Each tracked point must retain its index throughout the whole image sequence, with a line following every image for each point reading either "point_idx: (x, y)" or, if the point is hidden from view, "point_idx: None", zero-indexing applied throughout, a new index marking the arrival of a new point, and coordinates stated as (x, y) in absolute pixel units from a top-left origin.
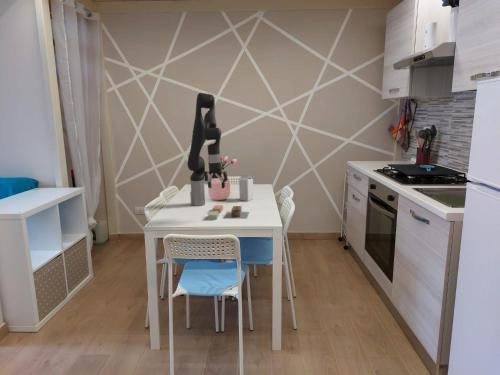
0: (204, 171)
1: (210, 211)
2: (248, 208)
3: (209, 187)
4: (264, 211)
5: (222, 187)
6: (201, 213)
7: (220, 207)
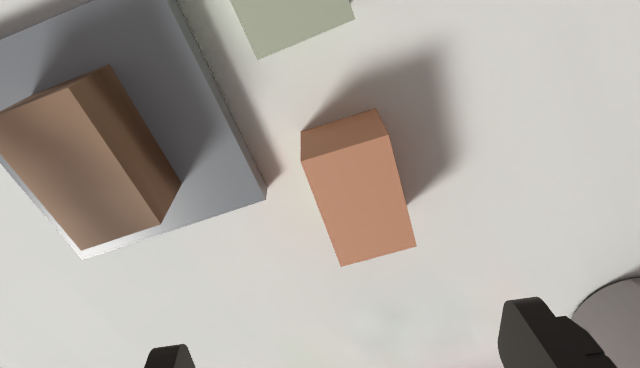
0: None
1: (348, 10)
2: (203, 352)
3: (530, 306)
4: (47, 335)
5: (155, 362)
6: (509, 118)
7: (324, 199)
